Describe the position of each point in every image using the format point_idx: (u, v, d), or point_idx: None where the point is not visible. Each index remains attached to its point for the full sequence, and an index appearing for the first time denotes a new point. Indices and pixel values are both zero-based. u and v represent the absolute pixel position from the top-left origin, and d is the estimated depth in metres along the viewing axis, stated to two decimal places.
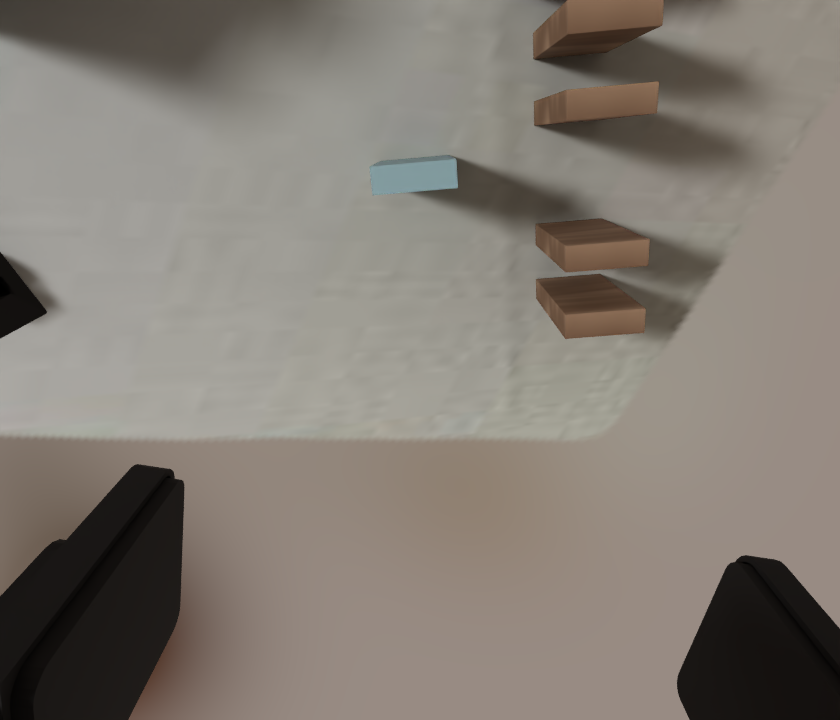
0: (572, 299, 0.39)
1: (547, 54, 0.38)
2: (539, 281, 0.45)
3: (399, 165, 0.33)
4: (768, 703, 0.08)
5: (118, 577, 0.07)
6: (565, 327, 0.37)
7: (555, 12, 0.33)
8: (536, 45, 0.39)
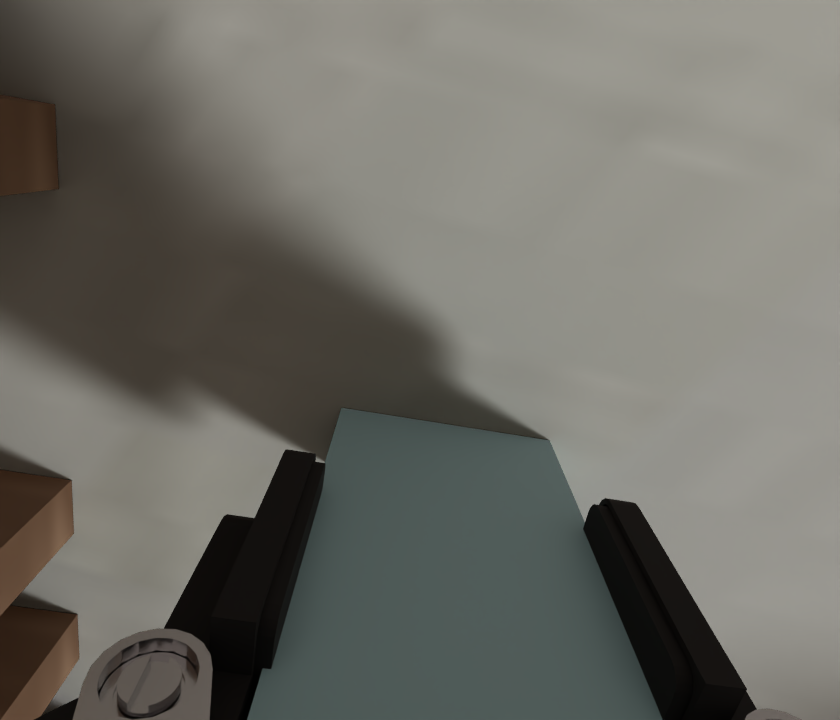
0: None
1: (8, 671, 0.14)
2: None
3: None
4: None
5: (302, 543, 0.08)
6: None
7: None
8: (54, 668, 0.15)
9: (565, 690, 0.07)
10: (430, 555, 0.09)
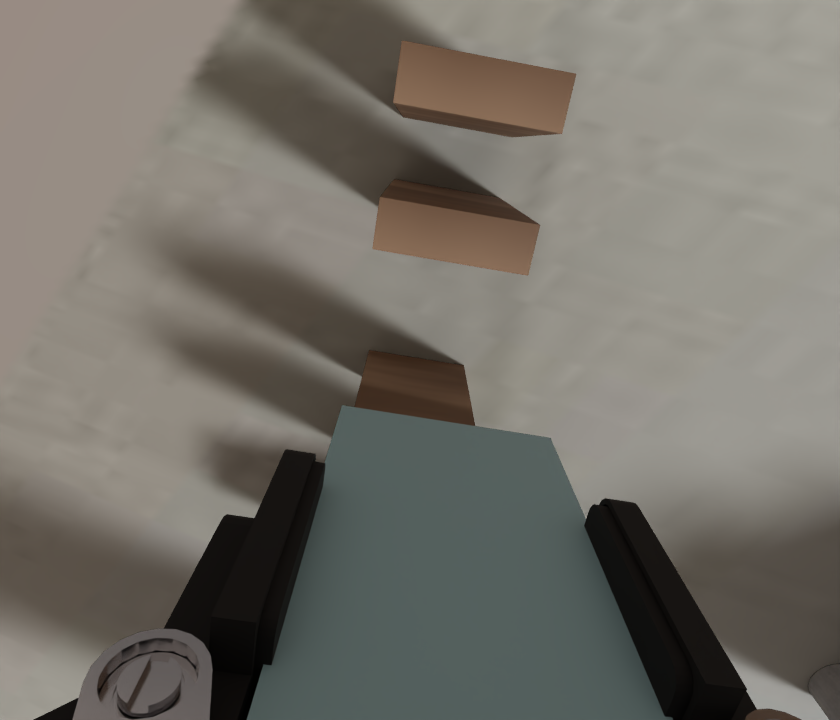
0: (504, 128, 0.20)
1: None
2: (512, 136, 0.25)
3: None
4: None
5: (302, 543, 0.08)
6: (568, 101, 0.17)
7: None
8: None
9: (566, 686, 0.07)
10: (430, 553, 0.09)
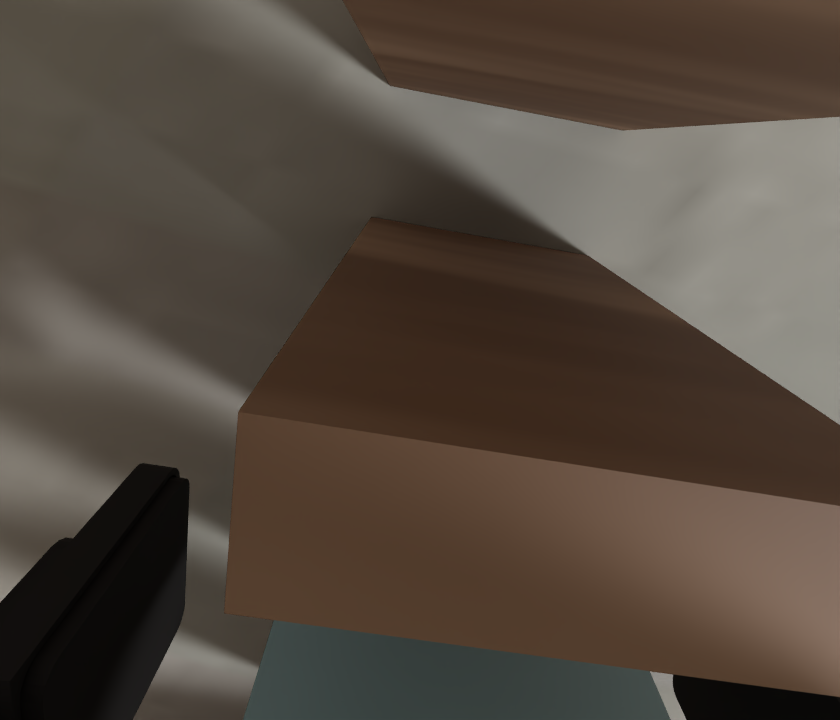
0: (710, 95, 0.06)
1: None
2: (631, 127, 0.11)
3: None
4: (762, 700, 0.08)
5: (125, 575, 0.07)
6: None
7: None
8: None
9: None
10: None
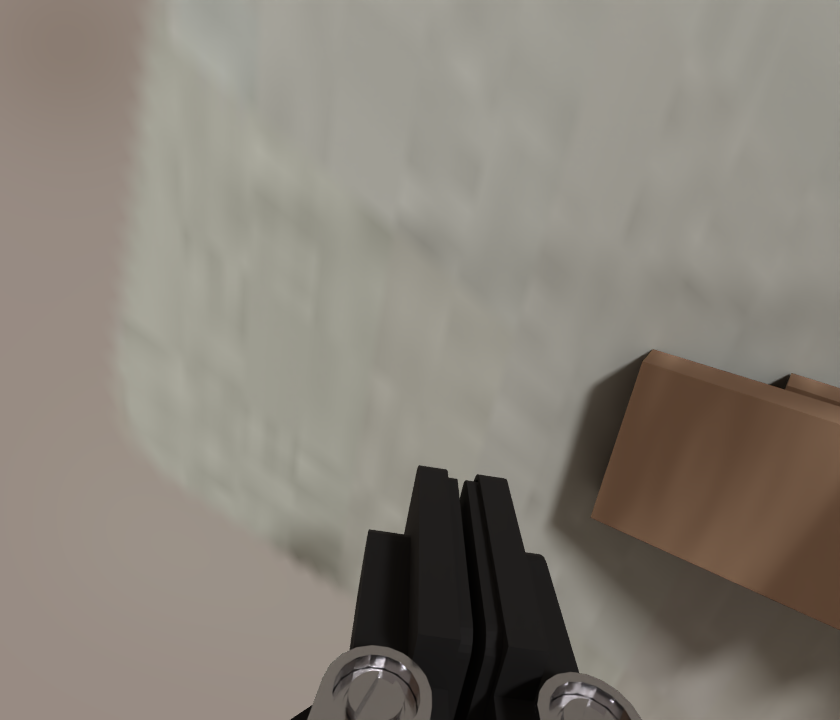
0: None
1: None
2: None
3: None
4: None
5: None
6: None
7: None
8: None
9: None
10: None
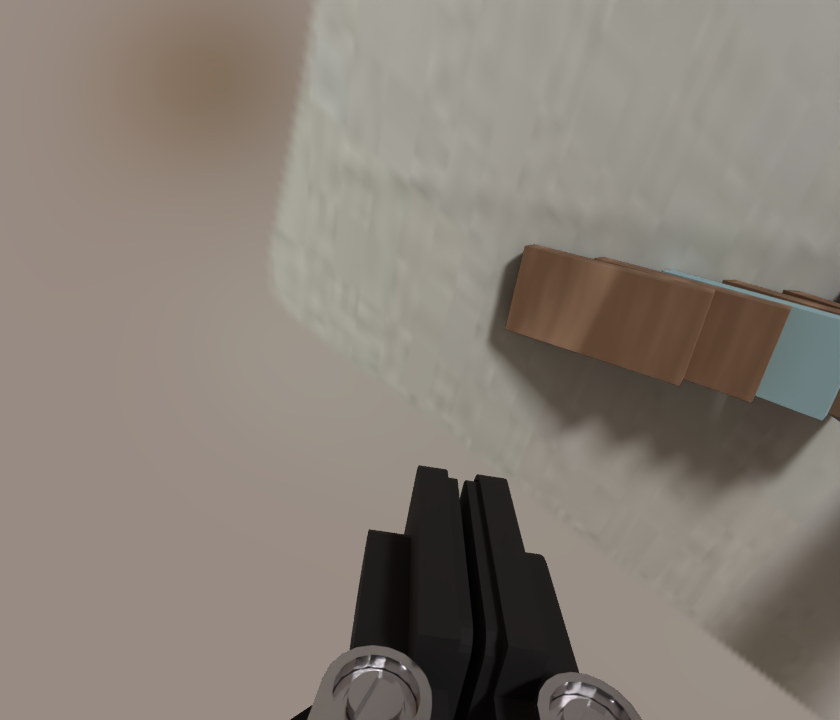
0: None
1: None
2: (547, 249, 0.34)
3: None
4: None
5: None
6: (712, 291, 0.29)
7: None
8: (808, 296, 0.33)
9: (783, 330, 0.30)
10: None
